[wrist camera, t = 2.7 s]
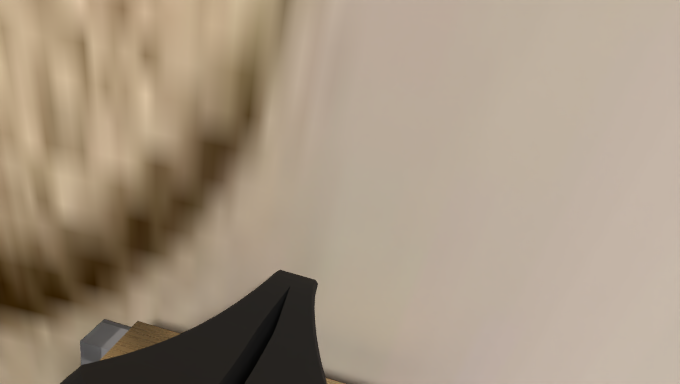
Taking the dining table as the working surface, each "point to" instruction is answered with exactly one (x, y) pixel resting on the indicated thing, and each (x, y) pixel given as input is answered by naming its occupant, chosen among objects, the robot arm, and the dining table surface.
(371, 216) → the dining table surface
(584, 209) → the dining table surface
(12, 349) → the dining table surface
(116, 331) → the pit tray
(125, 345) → the slider
